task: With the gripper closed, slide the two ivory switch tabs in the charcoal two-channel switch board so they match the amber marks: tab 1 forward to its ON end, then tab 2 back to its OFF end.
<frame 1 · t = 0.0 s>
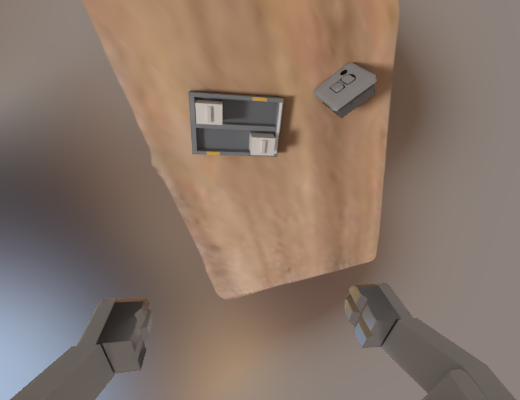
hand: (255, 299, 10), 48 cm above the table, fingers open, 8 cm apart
electrical switch: (336, 86, 52), on the table
tab 2: (261, 143, 52), point 4 cm above the table, slide at 11.0 cm
switch board: (236, 124, 53), on the table
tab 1: (209, 112, 47), point 4 cm above the table, slide at 0.0 cm
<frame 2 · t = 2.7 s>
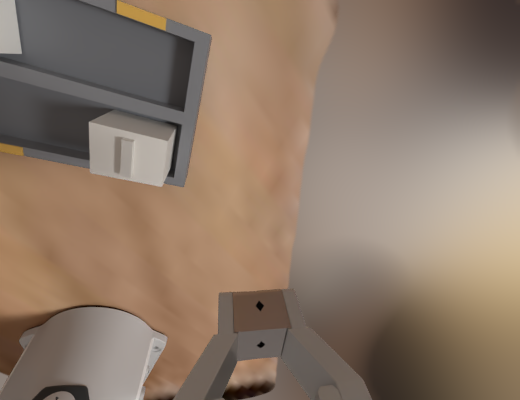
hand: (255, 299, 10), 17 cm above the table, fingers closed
switch board: (78, 82, 19), on the table
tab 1: (136, 148, 19), point 4 cm above the table, slide at 0.0 cm
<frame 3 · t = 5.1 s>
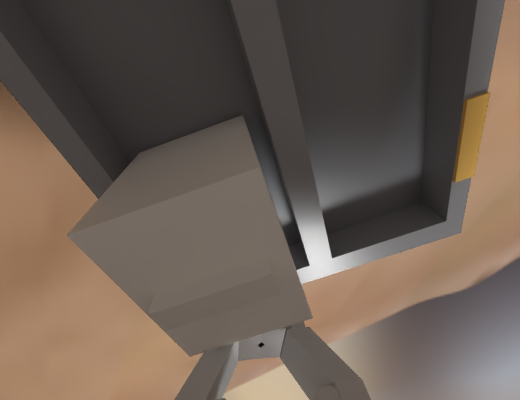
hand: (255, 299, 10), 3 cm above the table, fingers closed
switch board: (251, 39, 8), on the table
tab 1: (218, 232, 7), point 4 cm above the table, slide at 1.1 cm, touching gripper
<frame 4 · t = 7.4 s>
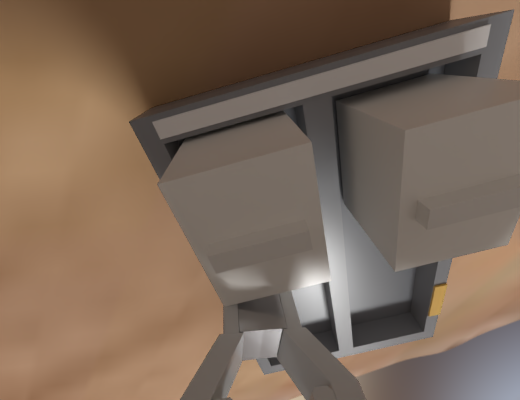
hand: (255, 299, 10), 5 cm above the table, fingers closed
tab 2: (419, 169, 8), point 4 cm above the table, slide at 11.0 cm
switch board: (321, 237, 15), on the table
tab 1: (254, 204, 9), point 4 cm above the table, slide at 11.3 cm, touching gripper
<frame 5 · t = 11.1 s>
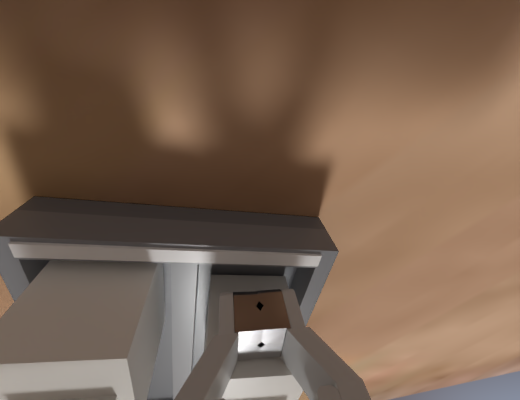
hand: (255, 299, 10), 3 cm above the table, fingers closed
tab 2: (246, 354, 11), point 4 cm above the table, slide at 9.4 cm, touching gripper
switch board: (187, 330, 16), on the table
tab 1: (97, 339, 9), point 4 cm above the table, slide at 11.0 cm
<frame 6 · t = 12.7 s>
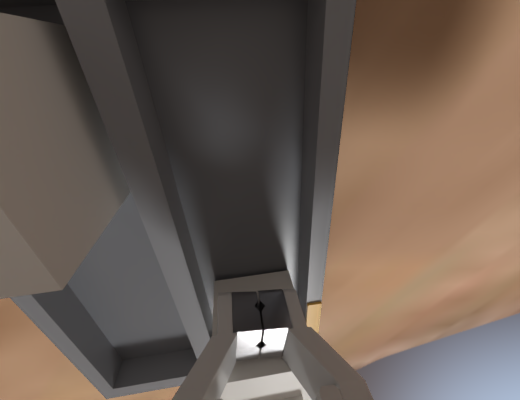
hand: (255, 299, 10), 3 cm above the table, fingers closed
tab 2: (261, 352, 11), point 4 cm above the table, slide at 0.5 cm, touching gripper
switch board: (184, 230, 12), on the table
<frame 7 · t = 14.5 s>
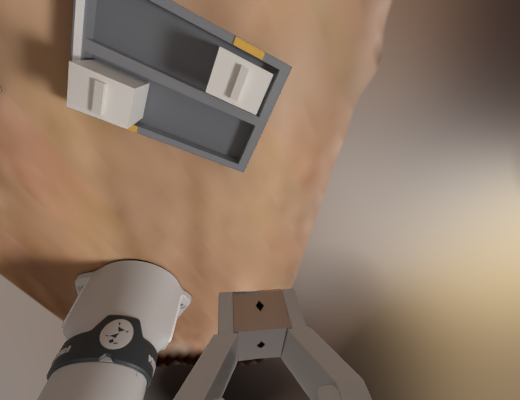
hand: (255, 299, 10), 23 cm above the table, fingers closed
tab 2: (238, 80, 23), point 4 cm above the table, slide at 0.4 cm
switch board: (184, 84, 26), on the table
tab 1: (110, 94, 22), point 4 cm above the table, slide at 11.0 cm
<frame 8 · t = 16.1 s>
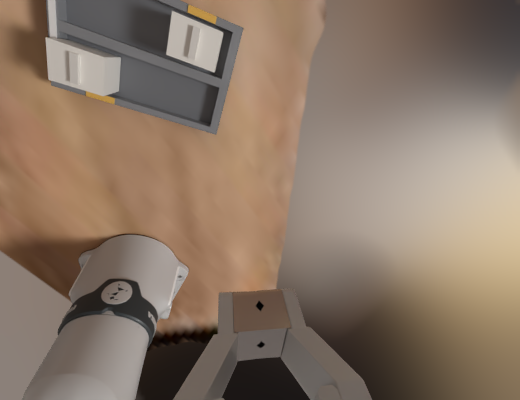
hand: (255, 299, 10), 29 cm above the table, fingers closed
tab 2: (196, 44, 26), point 4 cm above the table, slide at 0.4 cm
switch board: (152, 57, 29), on the table
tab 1: (86, 67, 26), point 4 cm above the table, slide at 11.0 cm
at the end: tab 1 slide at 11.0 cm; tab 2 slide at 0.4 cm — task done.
